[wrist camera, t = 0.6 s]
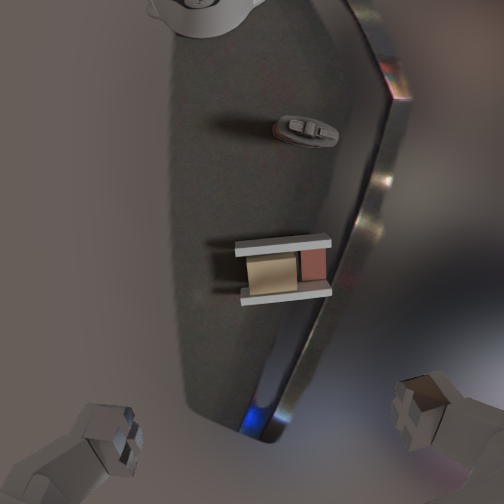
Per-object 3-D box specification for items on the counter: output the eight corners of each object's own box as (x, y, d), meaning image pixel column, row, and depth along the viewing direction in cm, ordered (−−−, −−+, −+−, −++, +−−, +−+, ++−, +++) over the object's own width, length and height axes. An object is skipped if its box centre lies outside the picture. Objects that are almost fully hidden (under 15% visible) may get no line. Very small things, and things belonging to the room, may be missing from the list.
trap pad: (300, 244, 51) (300, 244, 50) (324, 241, 51) (325, 242, 50) (301, 280, 52) (302, 281, 52) (325, 277, 52) (326, 278, 52)
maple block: (246, 252, 51) (246, 263, 46) (290, 248, 51) (295, 257, 46) (249, 282, 52) (250, 295, 48) (292, 277, 52) (297, 290, 48)
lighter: (270, 138, 46) (277, 134, 36) (274, 117, 45) (283, 107, 35) (321, 151, 47) (341, 151, 37) (326, 130, 46) (347, 125, 36)
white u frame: (235, 241, 50) (234, 248, 46) (324, 233, 50) (331, 239, 46) (241, 294, 53) (241, 305, 49) (325, 285, 53) (331, 295, 49)
